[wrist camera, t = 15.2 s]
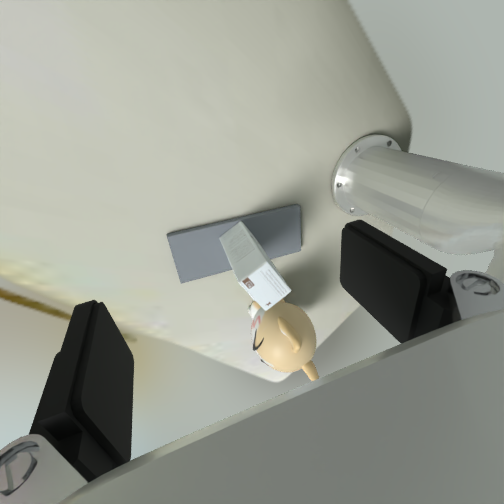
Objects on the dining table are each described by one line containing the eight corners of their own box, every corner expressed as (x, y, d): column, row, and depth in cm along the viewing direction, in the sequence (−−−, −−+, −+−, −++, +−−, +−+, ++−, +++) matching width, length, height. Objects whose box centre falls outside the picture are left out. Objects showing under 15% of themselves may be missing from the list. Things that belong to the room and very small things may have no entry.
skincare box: (261, 245, 44) (296, 291, 34) (239, 263, 44) (266, 313, 34) (239, 218, 40) (270, 259, 30) (215, 237, 40) (238, 284, 30)
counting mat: (297, 203, 43) (300, 206, 42) (298, 248, 47) (300, 250, 47) (166, 234, 39) (167, 237, 38) (180, 279, 43) (180, 283, 42)
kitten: (221, 287, 46) (248, 358, 34) (273, 258, 47) (319, 317, 34) (255, 339, 55) (286, 410, 42) (299, 313, 55) (343, 376, 43)
